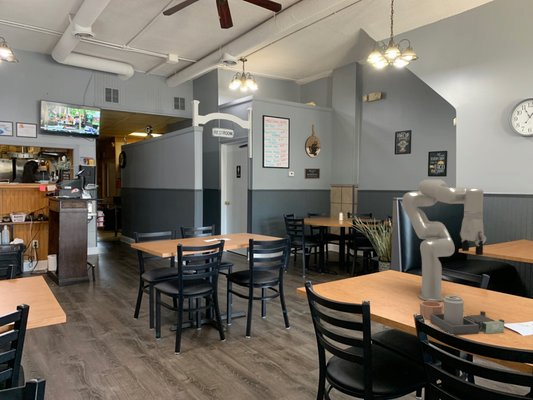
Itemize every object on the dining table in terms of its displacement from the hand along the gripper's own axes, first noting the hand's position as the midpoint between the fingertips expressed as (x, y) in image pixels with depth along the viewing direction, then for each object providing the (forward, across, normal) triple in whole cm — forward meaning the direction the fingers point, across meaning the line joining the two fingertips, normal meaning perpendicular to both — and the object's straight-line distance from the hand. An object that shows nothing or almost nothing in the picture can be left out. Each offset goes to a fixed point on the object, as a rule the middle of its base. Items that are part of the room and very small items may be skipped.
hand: (472, 252), depth 180 cm
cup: (+29, 0, -19) cm, 35 cm away
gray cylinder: (+28, +14, -17) cm, 36 cm away
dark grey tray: (+29, +14, -17) cm, 36 cm away
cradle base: (+29, +15, -5) cm, 33 cm away
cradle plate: (+28, +14, -5) cm, 31 cm away
